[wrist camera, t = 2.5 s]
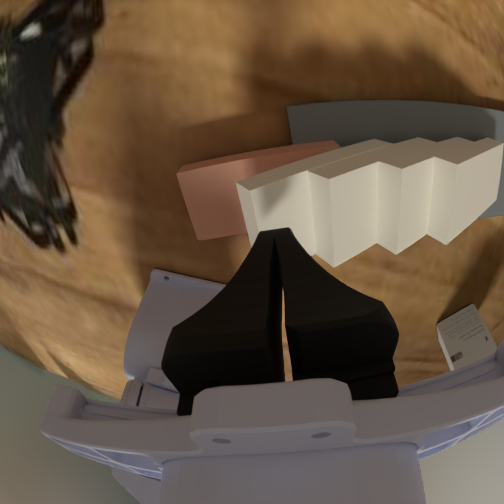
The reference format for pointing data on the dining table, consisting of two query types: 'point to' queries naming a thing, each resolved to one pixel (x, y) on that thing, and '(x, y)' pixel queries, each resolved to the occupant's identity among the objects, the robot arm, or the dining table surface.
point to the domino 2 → (349, 201)
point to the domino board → (397, 125)
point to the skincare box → (465, 338)
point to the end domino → (232, 185)
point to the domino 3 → (407, 194)
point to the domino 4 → (463, 187)
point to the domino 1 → (289, 195)
